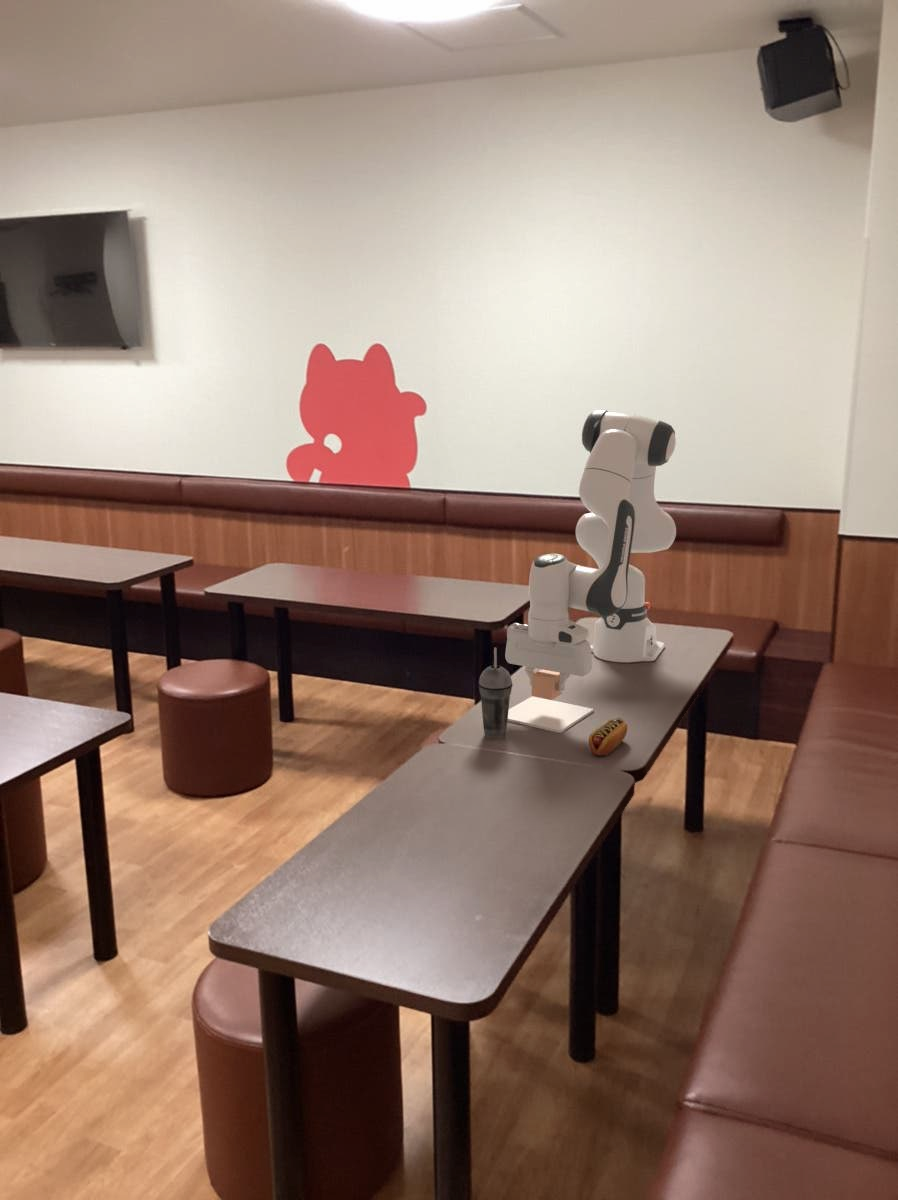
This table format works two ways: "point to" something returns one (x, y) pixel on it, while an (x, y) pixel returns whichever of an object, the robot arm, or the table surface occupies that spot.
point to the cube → (545, 684)
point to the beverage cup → (495, 699)
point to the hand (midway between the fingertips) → (547, 688)
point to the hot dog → (607, 736)
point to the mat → (547, 714)
